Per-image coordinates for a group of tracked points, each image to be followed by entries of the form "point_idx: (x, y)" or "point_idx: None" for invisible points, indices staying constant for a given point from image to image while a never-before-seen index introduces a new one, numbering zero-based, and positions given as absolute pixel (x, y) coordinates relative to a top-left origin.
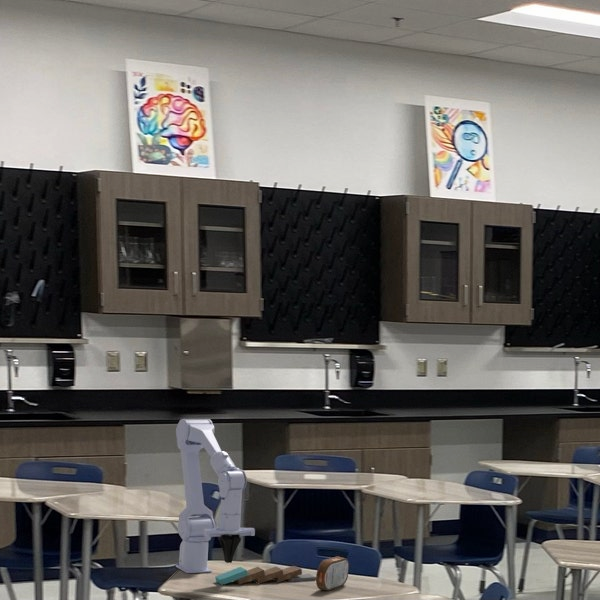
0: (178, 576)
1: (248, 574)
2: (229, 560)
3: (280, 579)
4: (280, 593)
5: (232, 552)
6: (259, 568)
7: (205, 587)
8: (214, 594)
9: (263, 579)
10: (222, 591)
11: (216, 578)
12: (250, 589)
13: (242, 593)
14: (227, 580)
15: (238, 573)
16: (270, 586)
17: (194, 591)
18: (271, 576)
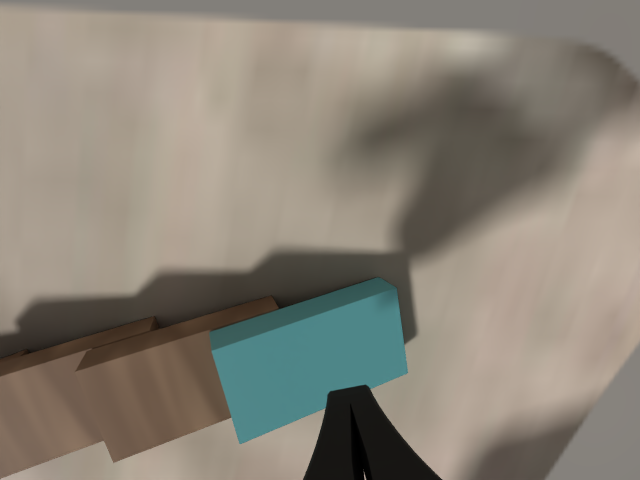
0: (546, 465)
1: (201, 350)
2: (353, 396)
3: (2, 361)
4: (24, 41)
5: (338, 452)
6: (105, 419)
7: (486, 231)
8: (487, 33)
9: (110, 334)
10: (413, 121)
11: (401, 351)
12: (222, 171)
13: (294, 55)
14: (348, 295)
15: (275, 326)
16: (83, 249)
17: (584, 128)
18: (47, 354)
